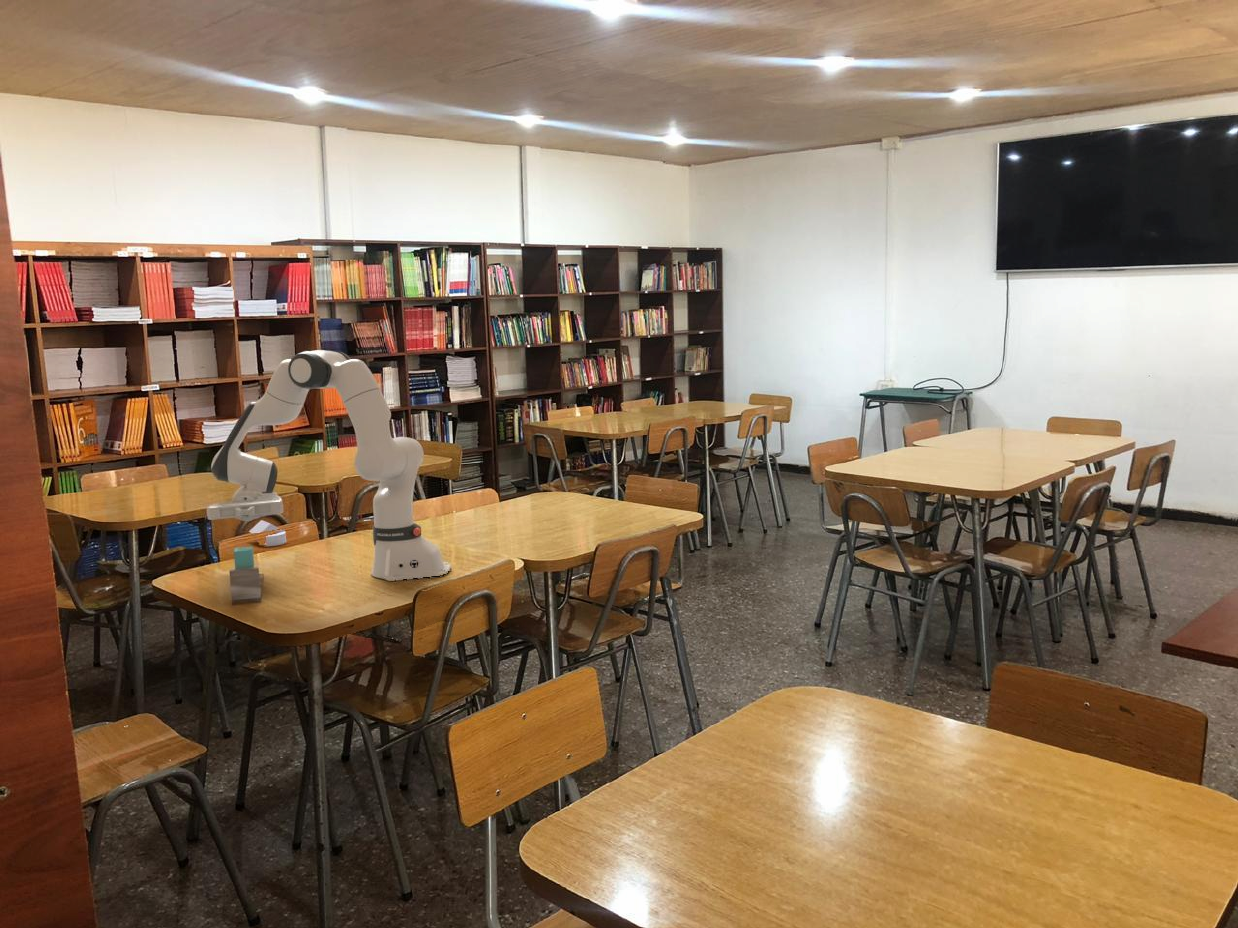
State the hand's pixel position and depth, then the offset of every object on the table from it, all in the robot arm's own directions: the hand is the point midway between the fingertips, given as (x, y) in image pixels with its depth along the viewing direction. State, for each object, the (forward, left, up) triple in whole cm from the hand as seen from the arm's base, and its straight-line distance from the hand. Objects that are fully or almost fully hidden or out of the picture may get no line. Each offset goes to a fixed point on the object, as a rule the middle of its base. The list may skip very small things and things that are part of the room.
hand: (244, 513), depth 262 cm
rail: (-2, +7, -20) cm, 21 cm away
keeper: (-4, +14, -19) cm, 24 cm away
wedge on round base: (+10, -54, -21) cm, 59 cm away
